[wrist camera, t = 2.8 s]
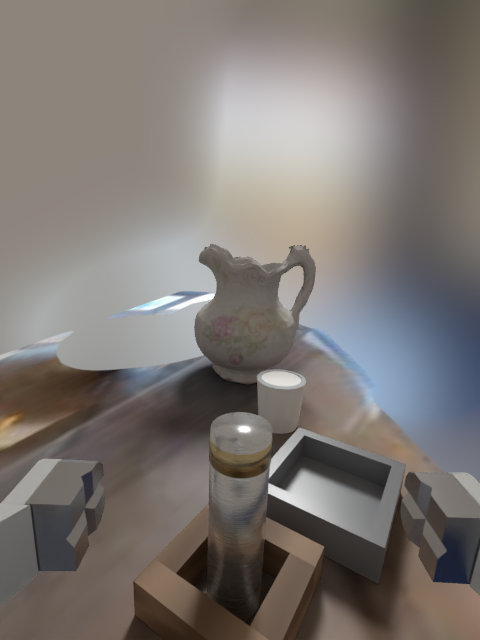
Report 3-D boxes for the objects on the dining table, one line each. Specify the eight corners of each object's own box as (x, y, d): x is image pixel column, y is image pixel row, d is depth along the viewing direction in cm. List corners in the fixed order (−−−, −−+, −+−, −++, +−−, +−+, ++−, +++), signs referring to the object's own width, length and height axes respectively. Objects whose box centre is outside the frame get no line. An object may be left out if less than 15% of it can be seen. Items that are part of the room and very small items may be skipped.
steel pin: (194, 602, 25) (196, 431, 22) (226, 559, 28) (232, 405, 25) (242, 638, 23) (253, 455, 20) (270, 587, 26) (283, 423, 23)
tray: (247, 515, 33) (248, 484, 32) (296, 452, 43) (298, 427, 42) (378, 584, 27) (385, 548, 26) (400, 492, 37) (405, 464, 36)
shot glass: (272, 441, 45) (276, 392, 43) (245, 417, 51) (247, 373, 49) (312, 428, 49) (316, 382, 47) (282, 407, 54) (285, 365, 53)
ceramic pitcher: (284, 358, 79) (288, 247, 75) (325, 388, 61) (334, 243, 56) (189, 363, 74) (188, 244, 70) (202, 398, 55) (202, 239, 51)
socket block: (134, 614, 24) (133, 581, 23) (217, 519, 32) (218, 492, 32) (259, 722, 19) (263, 683, 18) (320, 577, 27) (324, 546, 27)
